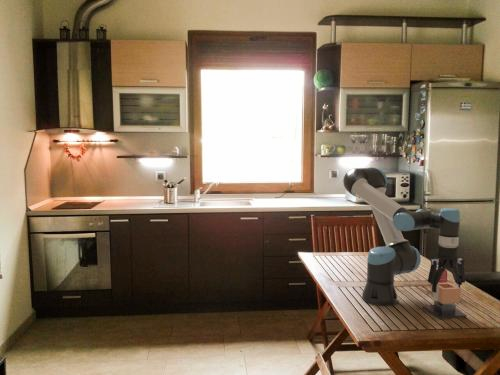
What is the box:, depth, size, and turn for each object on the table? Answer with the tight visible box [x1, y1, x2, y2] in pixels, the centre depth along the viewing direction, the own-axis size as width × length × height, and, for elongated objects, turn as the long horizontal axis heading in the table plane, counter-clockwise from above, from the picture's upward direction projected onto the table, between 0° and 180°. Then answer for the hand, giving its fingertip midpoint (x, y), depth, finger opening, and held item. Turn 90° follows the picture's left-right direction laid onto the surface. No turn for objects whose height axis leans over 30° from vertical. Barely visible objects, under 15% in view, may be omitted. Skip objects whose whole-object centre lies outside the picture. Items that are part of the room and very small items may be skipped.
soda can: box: [429, 265, 448, 291], centre depth 207 cm, size 7×7×12 cm
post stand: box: [423, 300, 467, 320], centre depth 183 cm, size 12×12×10 cm
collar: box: [430, 281, 462, 304], centre depth 183 cm, size 8×8×6 cm
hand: (445, 299), depth 183 cm, fingers closed on collar, 8 cm apart
